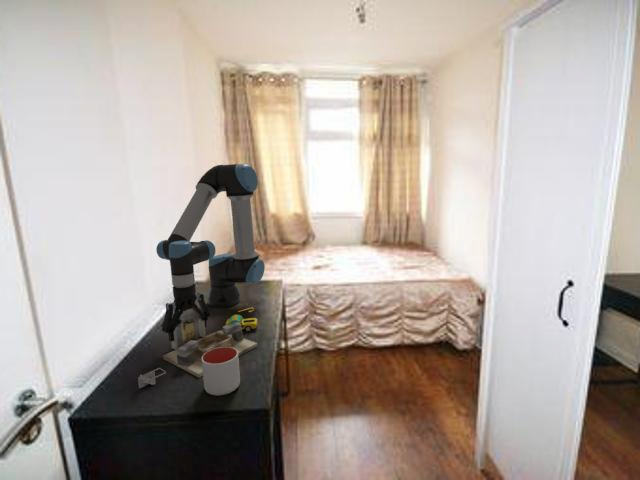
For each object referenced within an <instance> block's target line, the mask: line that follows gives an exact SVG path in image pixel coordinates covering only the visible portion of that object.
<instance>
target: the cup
mask: <svg viewBox="0 0 640 480" xmlns="http://www.w3.org/2000/svg"><path fill="white" fill-rule="evenodd" d="M202 369H203V376H202V379H203V388H204V390H205V391H206V393H207V394H208V395H211V396H218V397H219V396H225V395H228V394H231V393H232V392H234V391H235V390H236V389H237V388H238V387H240V383H241V374H240V373H241V372H240V360H239V356H238V351H237V350H236V349H234V348H231V347H219V348H215V349H212V350H209V351H207V352H206V353H205V354H204V355H203V356H202Z"/></svg>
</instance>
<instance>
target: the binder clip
mask: <svg viewBox="0 0 640 480" xmlns="http://www.w3.org/2000/svg"><path fill="white" fill-rule="evenodd" d="M157 370H158V371H159V370H161V371H163V372H161V373H160V374H158V375H156V372H155V371H157ZM165 374H167V372H166V370H164V369H163V368H161V367H158V368H155V369H153V370H150V371H148V372H147V373H144V374H139V376H138V377H137V382H138V383H137V384H138V388H139V389H141V388H144V387H146V386H148V385H153V386H154V385H156V381H157V380H156V379H157V378H159V377H160V376H163V375H165Z"/></svg>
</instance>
